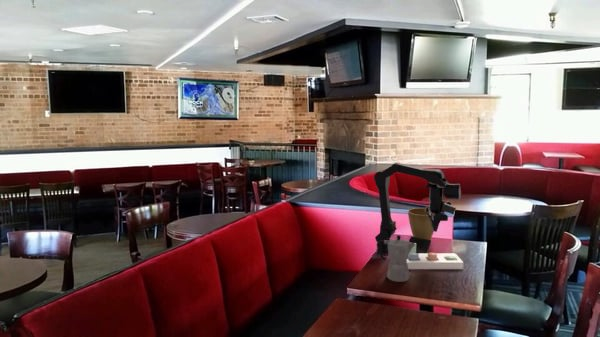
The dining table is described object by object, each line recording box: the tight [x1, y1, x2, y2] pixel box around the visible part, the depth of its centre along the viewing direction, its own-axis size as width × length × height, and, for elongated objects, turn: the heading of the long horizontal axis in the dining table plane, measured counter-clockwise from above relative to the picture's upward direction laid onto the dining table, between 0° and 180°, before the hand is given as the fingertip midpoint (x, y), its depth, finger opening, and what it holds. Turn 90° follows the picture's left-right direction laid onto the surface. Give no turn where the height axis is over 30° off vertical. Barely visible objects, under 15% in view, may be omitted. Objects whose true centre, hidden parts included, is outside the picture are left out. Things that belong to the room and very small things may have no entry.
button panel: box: [407, 243, 464, 270], centre depth 205 cm, size 24×12×8 cm, turn 87°
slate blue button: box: [409, 253, 419, 261], centre depth 205 cm, size 4×4×4 cm
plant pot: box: [407, 207, 434, 241], centre depth 238 cm, size 15×15×16 cm
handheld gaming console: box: [408, 235, 432, 253], centre depth 225 cm, size 12×7×10 cm
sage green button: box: [446, 256, 456, 260], centre depth 204 cm, size 4×4×4 cm
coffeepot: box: [376, 235, 415, 283], centre depth 190 cm, size 15×9×18 cm, turn 75°
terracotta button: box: [428, 252, 437, 260], centre depth 204 cm, size 4×4×4 cm
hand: (435, 231), depth 211 cm, fingers closed
